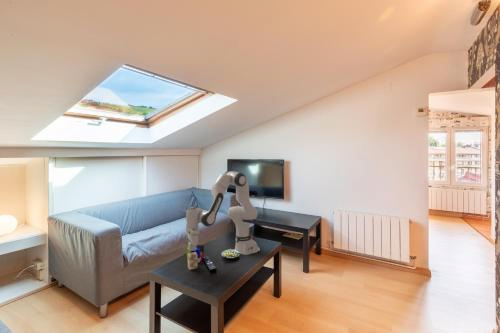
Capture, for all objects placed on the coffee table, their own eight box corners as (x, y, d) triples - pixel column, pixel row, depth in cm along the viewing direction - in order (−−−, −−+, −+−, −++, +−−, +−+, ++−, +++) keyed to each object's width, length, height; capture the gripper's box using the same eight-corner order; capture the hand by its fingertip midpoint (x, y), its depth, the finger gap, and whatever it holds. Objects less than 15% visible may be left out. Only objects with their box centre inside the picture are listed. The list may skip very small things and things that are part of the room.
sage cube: (194, 247, 191) (194, 241, 190) (196, 250, 186) (196, 243, 186) (188, 248, 189) (188, 242, 188) (189, 251, 184) (189, 244, 184)
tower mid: (195, 258, 192) (195, 252, 192) (197, 261, 187) (197, 255, 186) (187, 259, 190) (187, 253, 189) (189, 263, 184) (189, 256, 184)
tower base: (195, 264, 193) (195, 258, 192) (197, 268, 187) (197, 261, 187) (187, 266, 190) (187, 259, 190) (189, 269, 185) (189, 263, 184)
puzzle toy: (198, 262, 196) (198, 250, 196) (186, 261, 198) (186, 249, 198) (203, 257, 206) (203, 245, 206) (192, 256, 208) (192, 244, 208)
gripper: (185, 225, 195) (185, 243, 195) (190, 233, 176) (190, 252, 177) (193, 224, 197) (193, 242, 198) (199, 232, 179) (199, 251, 180)
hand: (192, 247), depth 187 cm, fingers closed on sage cube, 5 cm apart
